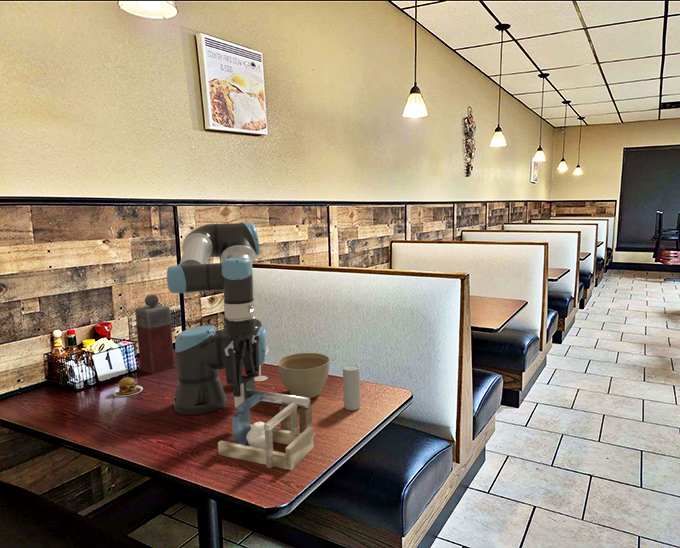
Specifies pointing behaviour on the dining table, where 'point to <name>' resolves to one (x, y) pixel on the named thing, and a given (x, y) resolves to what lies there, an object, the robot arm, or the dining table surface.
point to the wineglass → (260, 378)
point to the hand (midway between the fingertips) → (245, 403)
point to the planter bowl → (304, 373)
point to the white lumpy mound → (257, 435)
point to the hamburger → (127, 387)
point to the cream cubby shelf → (304, 419)
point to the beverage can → (351, 387)
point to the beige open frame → (296, 441)
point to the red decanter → (154, 336)
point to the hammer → (252, 398)
